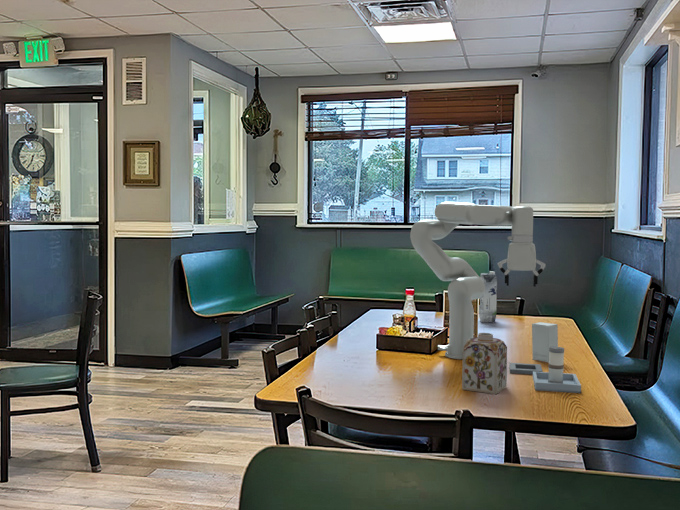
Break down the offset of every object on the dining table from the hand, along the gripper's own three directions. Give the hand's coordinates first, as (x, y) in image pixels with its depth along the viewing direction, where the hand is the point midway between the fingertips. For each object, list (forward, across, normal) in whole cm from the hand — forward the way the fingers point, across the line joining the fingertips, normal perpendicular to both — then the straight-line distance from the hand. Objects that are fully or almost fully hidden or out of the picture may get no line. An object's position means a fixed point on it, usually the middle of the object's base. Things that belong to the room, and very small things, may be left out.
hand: (520, 285), depth 246 cm
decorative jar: (+31, -12, -36) cm, 49 cm away
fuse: (+30, +11, -26) cm, 41 cm away
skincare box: (+31, +10, +12) cm, 34 cm away
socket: (+30, +2, -8) cm, 31 cm away
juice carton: (+31, -13, +107) cm, 112 cm away
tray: (+30, +11, -26) cm, 41 cm away
